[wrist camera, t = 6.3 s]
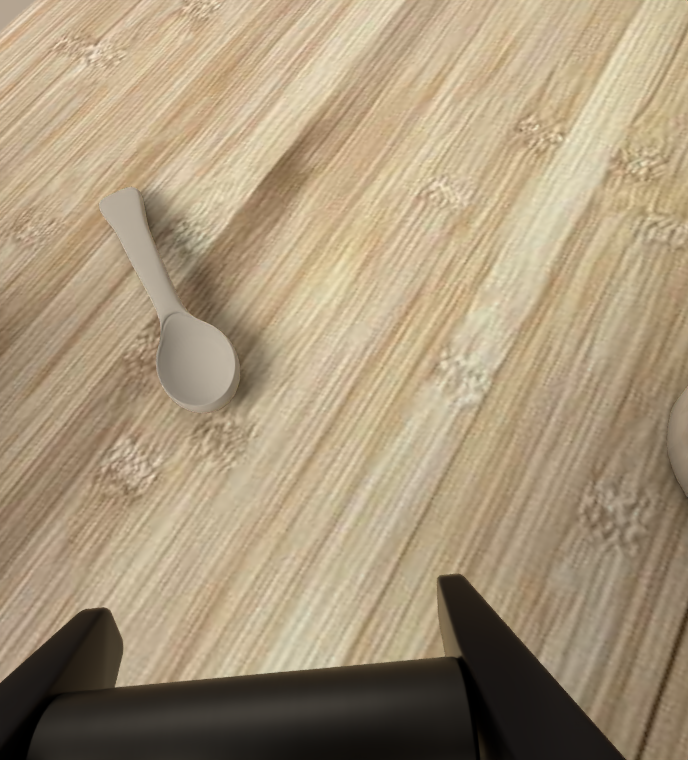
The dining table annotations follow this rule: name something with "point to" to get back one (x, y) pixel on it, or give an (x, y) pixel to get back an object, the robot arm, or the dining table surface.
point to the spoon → (174, 317)
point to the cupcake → (679, 440)
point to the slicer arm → (271, 717)
